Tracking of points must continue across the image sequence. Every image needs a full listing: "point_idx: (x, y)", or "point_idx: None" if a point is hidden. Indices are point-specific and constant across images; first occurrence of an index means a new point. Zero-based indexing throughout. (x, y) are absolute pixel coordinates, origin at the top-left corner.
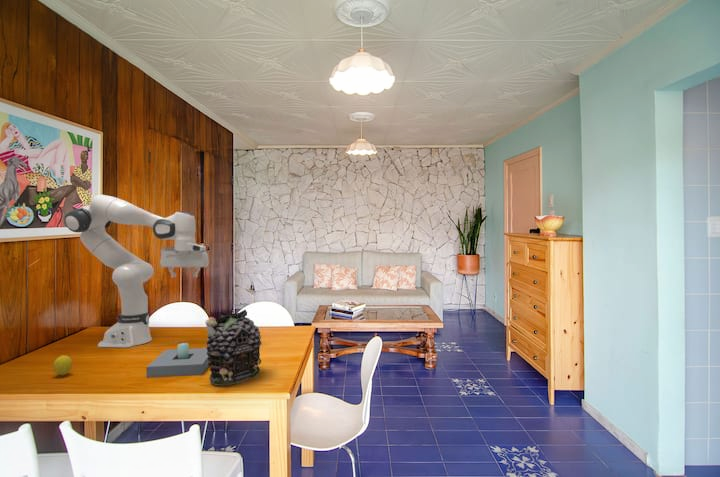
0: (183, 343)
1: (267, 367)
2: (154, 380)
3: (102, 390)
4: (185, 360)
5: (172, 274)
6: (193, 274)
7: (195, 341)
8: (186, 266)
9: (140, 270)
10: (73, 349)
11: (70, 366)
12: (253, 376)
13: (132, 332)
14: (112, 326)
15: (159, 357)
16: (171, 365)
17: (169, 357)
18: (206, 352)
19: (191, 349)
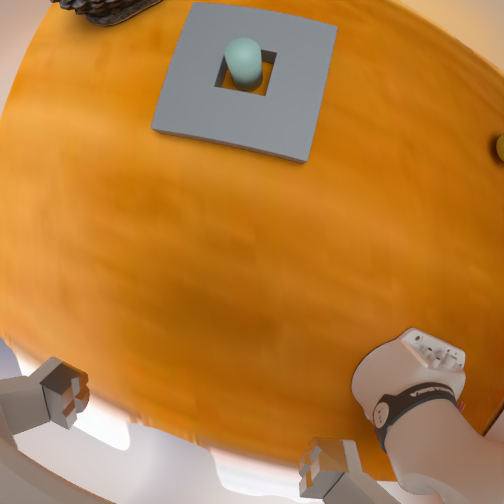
0: (241, 61)
1: (69, 39)
2: (309, 15)
3: (402, 16)
4: (237, 35)
5: (347, 461)
6: (66, 387)
7: (225, 324)
8: (89, 501)
9: None
10: (496, 346)
11: (500, 140)
12: None
13: (414, 359)
14: (458, 393)
15: (317, 86)
16: (272, 11)
17: (286, 74)
18: (177, 86)
19: (223, 132)
